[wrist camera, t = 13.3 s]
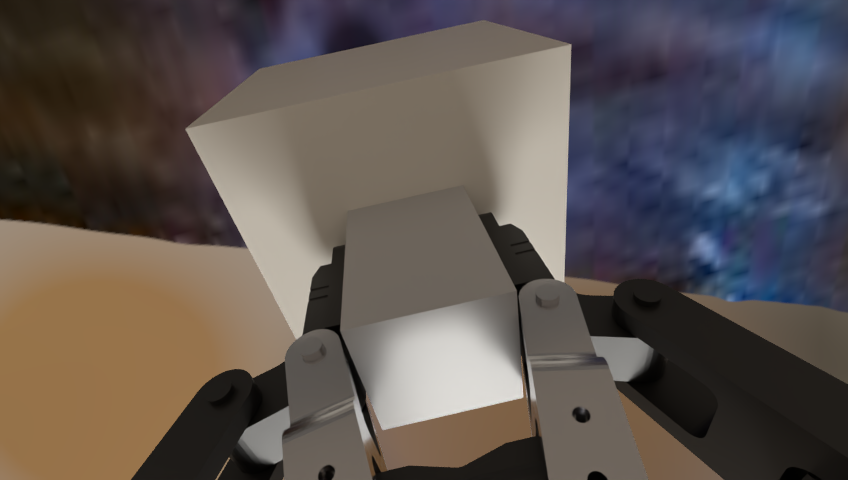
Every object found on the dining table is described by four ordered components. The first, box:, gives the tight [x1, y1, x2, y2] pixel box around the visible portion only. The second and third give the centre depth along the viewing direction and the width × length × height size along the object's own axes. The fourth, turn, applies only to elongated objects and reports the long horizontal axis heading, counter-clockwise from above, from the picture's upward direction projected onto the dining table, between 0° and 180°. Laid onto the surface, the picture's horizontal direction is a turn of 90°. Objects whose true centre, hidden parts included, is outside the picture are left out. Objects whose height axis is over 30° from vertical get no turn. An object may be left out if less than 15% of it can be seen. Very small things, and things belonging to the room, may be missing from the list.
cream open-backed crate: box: [186, 20, 571, 430], centre depth 15 cm, size 10×10×14 cm
